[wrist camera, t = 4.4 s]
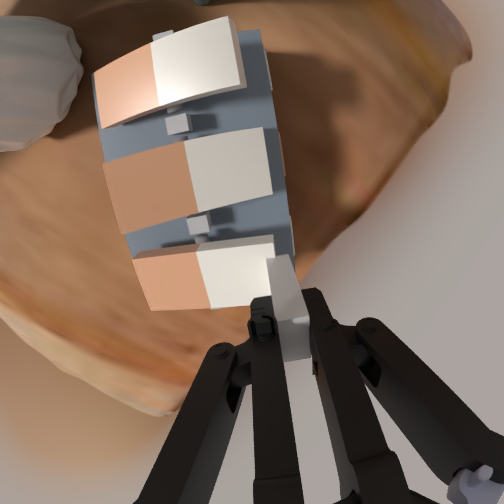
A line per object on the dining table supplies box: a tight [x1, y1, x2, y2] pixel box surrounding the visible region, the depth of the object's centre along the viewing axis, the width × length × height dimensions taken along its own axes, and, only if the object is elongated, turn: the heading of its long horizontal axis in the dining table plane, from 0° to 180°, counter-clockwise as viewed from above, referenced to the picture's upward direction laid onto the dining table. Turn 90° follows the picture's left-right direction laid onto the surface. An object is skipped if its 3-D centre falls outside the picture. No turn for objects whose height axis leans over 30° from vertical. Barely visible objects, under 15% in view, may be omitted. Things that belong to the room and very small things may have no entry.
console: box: [91, 29, 296, 310], centre depth 21 cm, size 13×21×8 cm, turn 9°
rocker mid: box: [102, 127, 273, 235], centre depth 17 cm, size 10×5×2 cm, turn 99°
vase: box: [0, 16, 84, 152], centre depth 12 cm, size 14×14×15 cm
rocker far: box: [132, 233, 276, 311], centre depth 20 cm, size 10×5×2 cm, turn 99°
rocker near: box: [94, 16, 247, 129], centre depth 14 cm, size 10×5×2 cm, turn 99°
